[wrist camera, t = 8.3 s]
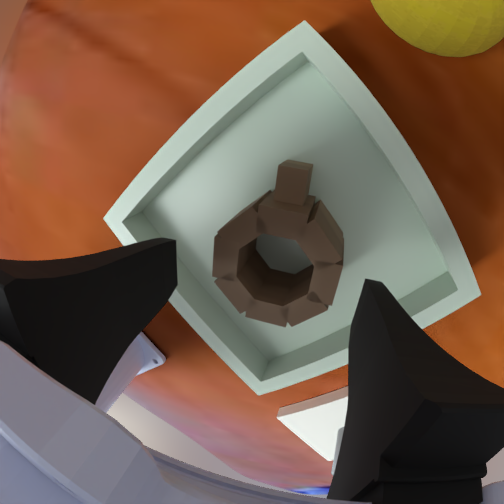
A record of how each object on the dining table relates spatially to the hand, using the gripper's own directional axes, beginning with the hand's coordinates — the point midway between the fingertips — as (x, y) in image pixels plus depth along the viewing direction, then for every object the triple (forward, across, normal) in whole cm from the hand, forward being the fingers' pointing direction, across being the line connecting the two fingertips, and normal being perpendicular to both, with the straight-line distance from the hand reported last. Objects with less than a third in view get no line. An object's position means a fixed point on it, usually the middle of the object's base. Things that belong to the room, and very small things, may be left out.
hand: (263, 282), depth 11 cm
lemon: (+5, -5, -12) cm, 14 cm away
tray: (+5, 0, 0) cm, 5 cm away
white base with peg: (+5, -7, +14) cm, 17 cm away
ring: (+4, 0, 0) cm, 4 cm away
